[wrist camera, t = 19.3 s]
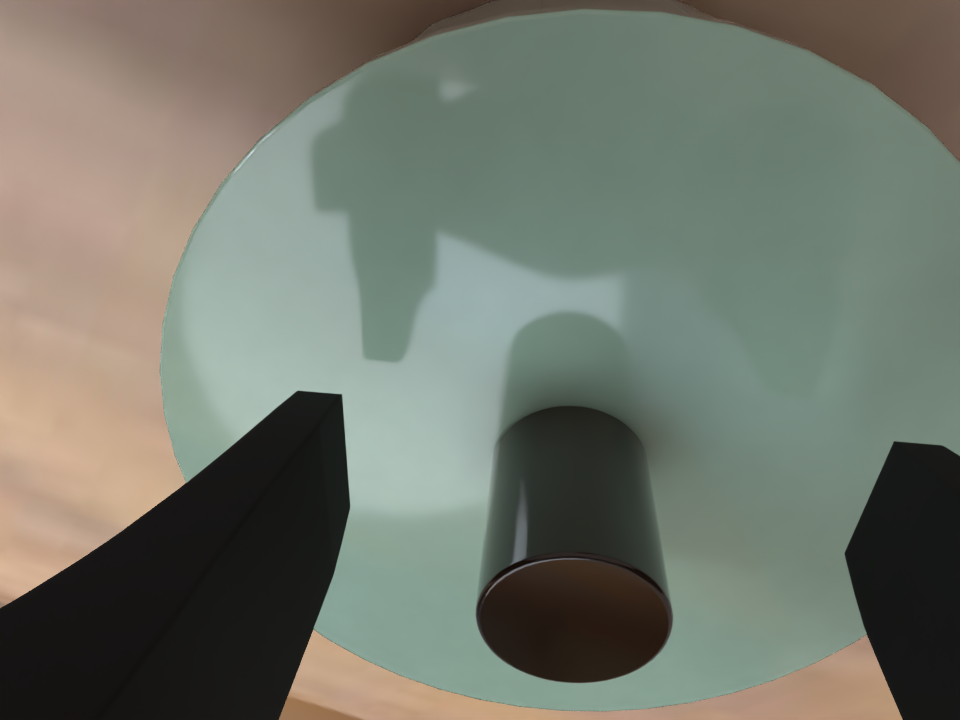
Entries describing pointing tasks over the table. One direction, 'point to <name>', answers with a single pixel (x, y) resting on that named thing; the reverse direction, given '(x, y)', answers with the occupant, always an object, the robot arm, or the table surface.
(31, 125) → the table surface
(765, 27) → the table surface
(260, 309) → the lid
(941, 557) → the robot arm
